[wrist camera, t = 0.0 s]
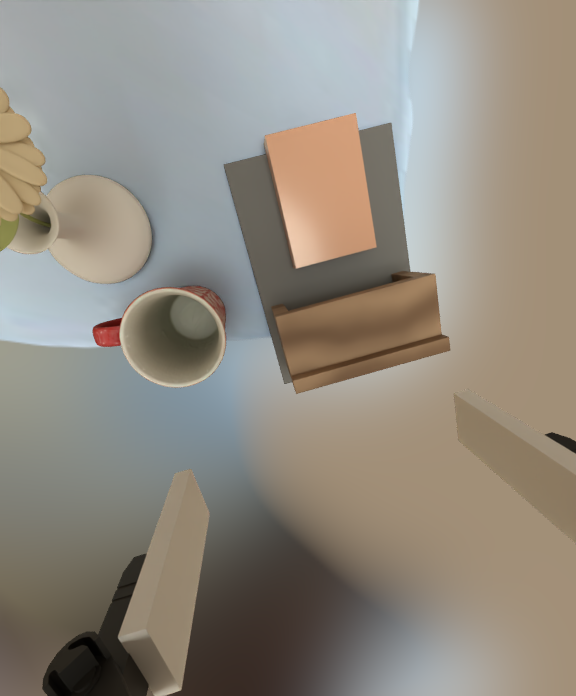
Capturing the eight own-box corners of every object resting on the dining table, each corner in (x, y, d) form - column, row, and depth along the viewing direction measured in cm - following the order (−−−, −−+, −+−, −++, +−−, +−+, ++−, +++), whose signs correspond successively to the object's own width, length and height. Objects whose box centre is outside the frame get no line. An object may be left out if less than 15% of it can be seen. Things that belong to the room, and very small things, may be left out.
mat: (223, 165, 36) (223, 164, 35) (389, 124, 37) (391, 122, 36) (284, 383, 44) (284, 384, 44) (418, 345, 45) (419, 346, 44)
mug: (233, 278, 39) (224, 288, 26) (234, 347, 42) (226, 387, 29) (127, 276, 38) (64, 285, 25) (135, 347, 40) (81, 389, 27)
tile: (263, 144, 35) (264, 135, 33) (348, 123, 36) (355, 113, 33) (293, 267, 39) (296, 268, 37) (368, 247, 40) (376, 247, 37)
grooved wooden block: (271, 306, 40) (276, 319, 32) (402, 271, 41) (442, 274, 33) (287, 366, 43) (296, 393, 34) (411, 332, 44) (450, 350, 35)
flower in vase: (145, 294, 39) (-24, 354, 15) (45, 265, 37) (-342, 280, 13) (168, 184, 36) (2, 38, 12) (60, 146, 34) (-409, -130, 10)
